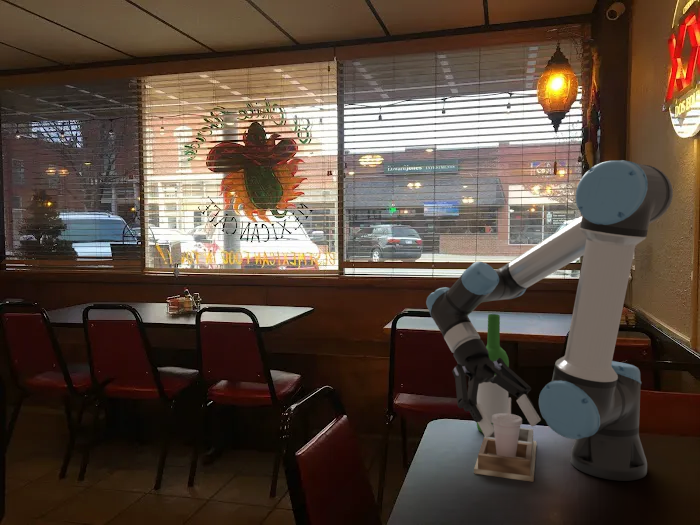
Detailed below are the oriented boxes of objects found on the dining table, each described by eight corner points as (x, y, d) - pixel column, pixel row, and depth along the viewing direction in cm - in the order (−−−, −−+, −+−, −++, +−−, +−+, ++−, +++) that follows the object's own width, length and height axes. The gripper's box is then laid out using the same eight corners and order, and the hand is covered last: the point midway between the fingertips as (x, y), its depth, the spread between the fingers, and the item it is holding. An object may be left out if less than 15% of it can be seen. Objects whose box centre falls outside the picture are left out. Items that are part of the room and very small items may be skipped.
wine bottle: (513, 431, 146) (515, 315, 144) (496, 438, 141) (498, 318, 139) (487, 423, 152) (489, 311, 150) (470, 430, 146) (472, 314, 145)
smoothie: (522, 468, 120) (524, 402, 120) (491, 465, 122) (492, 401, 121) (519, 456, 127) (521, 394, 126) (490, 454, 128) (491, 392, 127)
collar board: (536, 445, 136) (536, 429, 136) (533, 481, 117) (533, 462, 116) (485, 439, 140) (485, 423, 140) (473, 473, 121) (474, 454, 120)
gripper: (497, 350, 142) (544, 427, 130) (417, 361, 130) (460, 448, 118) (513, 332, 137) (564, 410, 125) (431, 342, 125) (479, 430, 113)
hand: (514, 429), depth 121 cm, fingers open, 13 cm apart
